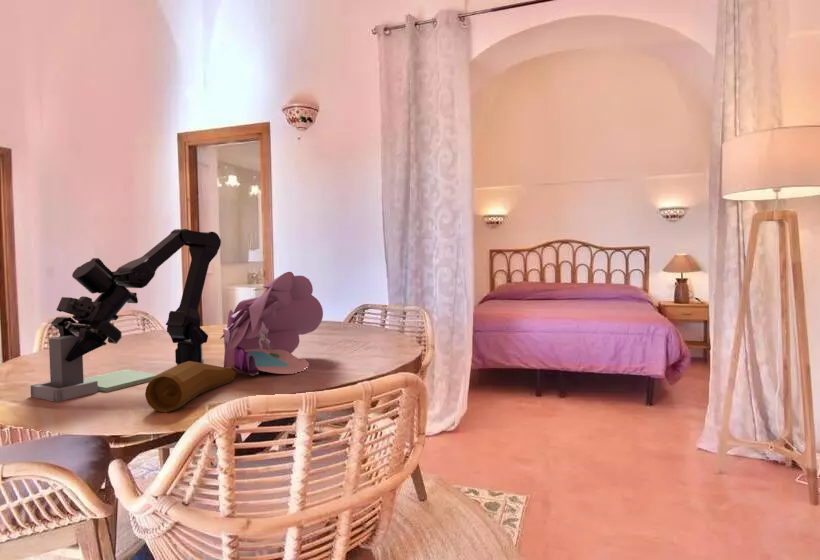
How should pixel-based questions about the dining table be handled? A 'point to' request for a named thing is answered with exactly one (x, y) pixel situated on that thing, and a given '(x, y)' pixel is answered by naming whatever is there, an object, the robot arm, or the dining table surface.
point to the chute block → (64, 362)
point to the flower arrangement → (272, 327)
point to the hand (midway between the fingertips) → (60, 359)
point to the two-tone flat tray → (92, 385)
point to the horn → (184, 384)
